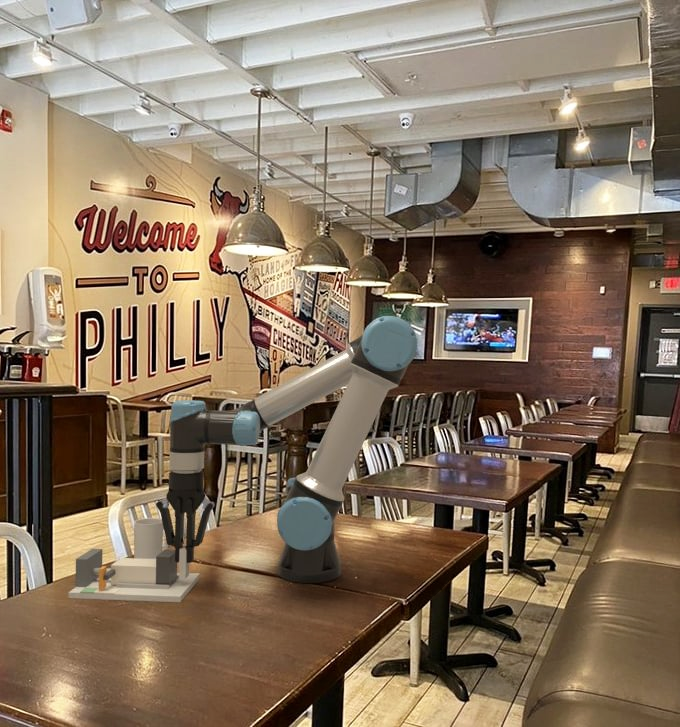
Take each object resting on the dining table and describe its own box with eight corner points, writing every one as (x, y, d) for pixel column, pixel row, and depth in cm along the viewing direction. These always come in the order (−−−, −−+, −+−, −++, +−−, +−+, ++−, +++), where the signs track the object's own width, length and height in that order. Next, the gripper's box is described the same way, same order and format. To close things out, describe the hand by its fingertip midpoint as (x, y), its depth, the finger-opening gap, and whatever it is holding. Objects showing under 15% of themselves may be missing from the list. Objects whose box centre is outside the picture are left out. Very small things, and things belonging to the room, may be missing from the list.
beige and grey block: (176, 578, 144) (177, 550, 144) (163, 592, 135) (163, 562, 135) (120, 576, 145) (121, 548, 145) (103, 590, 135) (103, 560, 135)
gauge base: (199, 578, 148) (200, 547, 148) (180, 602, 133) (180, 567, 133) (98, 575, 150) (98, 544, 150) (67, 598, 135) (68, 564, 135)
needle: (106, 586, 137) (106, 566, 137) (102, 590, 135) (102, 569, 135) (102, 586, 137) (102, 566, 137) (98, 589, 135) (98, 569, 135)
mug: (146, 577, 149) (147, 526, 149) (127, 572, 152) (128, 522, 152) (178, 566, 157) (179, 517, 157) (159, 561, 161) (160, 514, 161)
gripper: (219, 468, 145) (217, 572, 144) (163, 466, 145) (160, 570, 145) (211, 474, 137) (208, 584, 137) (151, 472, 138) (149, 581, 138)
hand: (183, 576), depth 141 cm, fingers closed
